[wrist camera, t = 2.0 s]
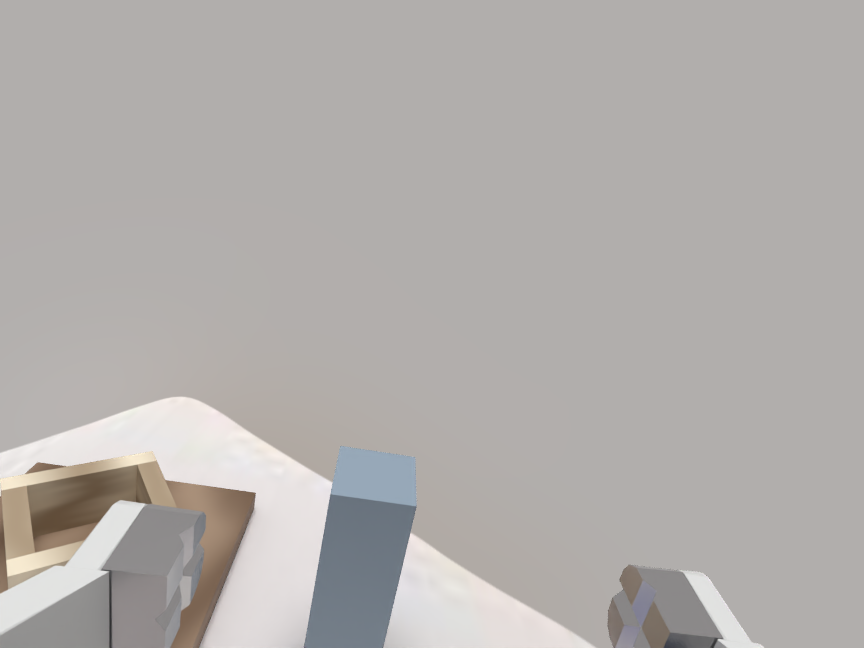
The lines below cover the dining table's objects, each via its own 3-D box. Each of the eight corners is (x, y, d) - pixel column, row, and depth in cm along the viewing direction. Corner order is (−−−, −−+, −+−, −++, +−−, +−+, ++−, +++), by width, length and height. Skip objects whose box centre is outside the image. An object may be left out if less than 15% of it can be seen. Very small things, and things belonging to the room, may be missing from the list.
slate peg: (293, 707, 30) (330, 494, 25) (306, 641, 33) (340, 445, 29) (367, 714, 30) (416, 506, 26) (371, 648, 34) (415, 457, 29)
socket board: (-172, 681, 26) (-192, 594, 25) (38, 479, 41) (35, 415, 40) (172, 714, 28) (177, 635, 26) (253, 508, 43) (260, 449, 41)
